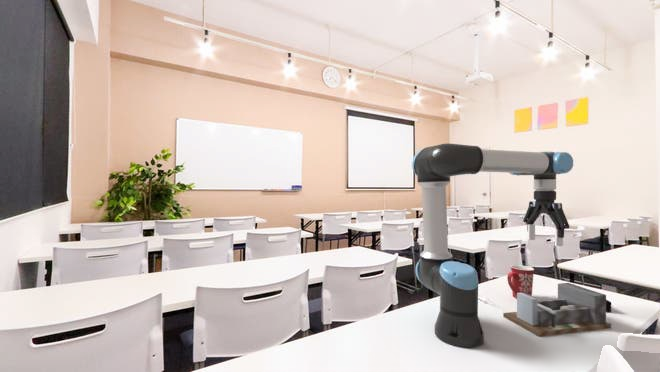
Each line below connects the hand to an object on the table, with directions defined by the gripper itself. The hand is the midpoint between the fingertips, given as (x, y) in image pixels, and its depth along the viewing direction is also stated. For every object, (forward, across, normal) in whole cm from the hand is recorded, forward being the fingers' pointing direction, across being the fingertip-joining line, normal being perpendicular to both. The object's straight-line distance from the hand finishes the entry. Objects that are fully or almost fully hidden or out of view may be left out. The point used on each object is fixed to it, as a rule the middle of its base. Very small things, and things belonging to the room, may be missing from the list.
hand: (544, 242), depth 126 cm
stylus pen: (+28, +8, +18) cm, 34 cm away
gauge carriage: (+25, -14, +14) cm, 32 cm away
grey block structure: (+27, -11, +6) cm, 30 cm away
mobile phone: (+27, +1, -24) cm, 37 cm away
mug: (+27, +13, 0) cm, 30 cm away
